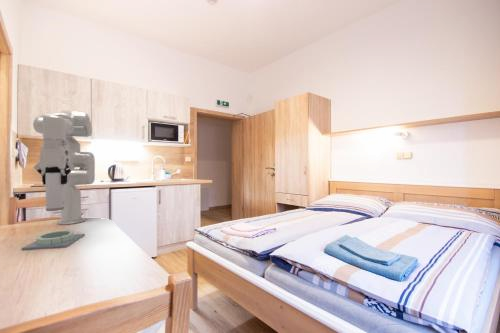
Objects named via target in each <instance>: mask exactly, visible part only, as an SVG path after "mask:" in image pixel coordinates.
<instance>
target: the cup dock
mask: <svg viewBox="0 0 500 333" xmlns="http://www.w3.org/2000/svg"><path fill="white" fill-rule="evenodd" d="M85 236H86V234H85V233H75V231H74V230H70V229H65V230H55V231H50V232H45V233H42V234H40V235H38V236H36V239H35V241H33V242H31V243H29V244H27V245H25V246H23V247H21V250H22V251H30V250H31V251H32V250H47V249H49V250H50V249H62V248H68V247H70V246H71V245H73V244H74V243H76V242H77V241H79V240H80V239H82V238H84V237H85Z"/></svg>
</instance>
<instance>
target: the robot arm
mask: <svg viewBox="0 0 500 333" xmlns="http://www.w3.org/2000/svg"><path fill="white" fill-rule="evenodd" d="M32 123H33V124H32V125H33V129H34V130H35V132H36V133H38V134H41V135H42V144H43V145H42V146H41V148H40V152H39V161H38V162H37V163H36V164H35V165H34V166H33V169H34V170H35V171H37V172H38V173H39V174H40V176H42V177H41V182H42V185H45V186H46V181H45V175H46V174H45V173H46V170H45V169H46V167H48V168H50V167H58V168H59V169H60V171H61V173H62V175H61V184H64V209H63V210H60V217H61V218H60V220H58V221H57V225H60V226H61V225H63V226H65V225H74V224H79V223H83V222H84V221H85V218H84V217H82V216H83V215H84V213H83V212H82V192H81V190H80V189H79V188H78V187H77V186H79V185H80V186H82V185H83V186H84V185H85V186H87V185H92V184H94V183H95V176H96V174H95V172H96V171H95V170H96V169H95V168H96V162H95V159H96V158H95V155H94V154H93V153H92V152H90V151H89V152H88V151H81V143H80V142H79V141H78V140H77V139H76V138H74V137H83V138H89V137H91V136H92V134H93V126H92V122H91V118H90V115H89V114H88V113H87V112H85V111H75V110H61V111H60V112H59V113H50V114H47V113H46V114H40V115H38V116H36V117H35V118H34V120H33V122H32Z"/></svg>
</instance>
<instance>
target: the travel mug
mask: <svg viewBox="0 0 500 333" xmlns="http://www.w3.org/2000/svg"><path fill="white" fill-rule="evenodd" d="M45 170H46V173H45V174H46V175H45V181H46V185H45V211H47V212H58V211H61V210H63V209H64V184H61V175H62V173H61V171H60V169H59V168H58V167H50V168H48V167H46V169H45Z"/></svg>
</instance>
